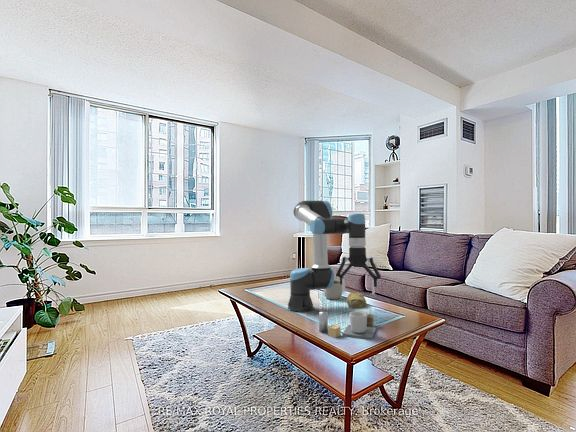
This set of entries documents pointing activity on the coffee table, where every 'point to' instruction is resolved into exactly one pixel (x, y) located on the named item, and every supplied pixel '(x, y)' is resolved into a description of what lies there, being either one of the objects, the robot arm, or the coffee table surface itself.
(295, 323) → the coffee table surface
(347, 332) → the coaster
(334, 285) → the planter
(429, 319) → the coffee table surface
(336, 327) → the ochre block
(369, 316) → the walnut block
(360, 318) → the cup
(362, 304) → the pastry
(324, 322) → the grey peg
